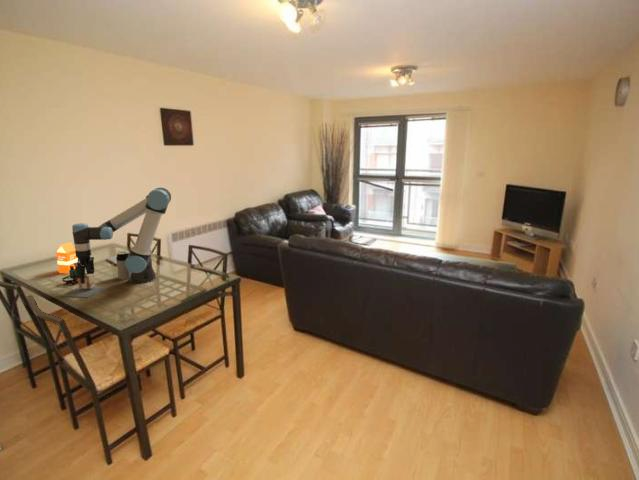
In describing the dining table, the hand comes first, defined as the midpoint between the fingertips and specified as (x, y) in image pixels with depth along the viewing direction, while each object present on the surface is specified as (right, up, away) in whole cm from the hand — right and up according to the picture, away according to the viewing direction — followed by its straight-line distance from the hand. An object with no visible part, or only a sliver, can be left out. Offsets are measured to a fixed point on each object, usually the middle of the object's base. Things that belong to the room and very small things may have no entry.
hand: (87, 286), depth 201 cm
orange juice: (-34, +6, +30) cm, 46 cm away
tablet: (-11, +11, +56) cm, 59 cm away
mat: (0, -3, -3) cm, 5 cm away
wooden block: (0, 0, 0) cm, 1 cm away
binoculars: (-16, 0, +10) cm, 18 cm away
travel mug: (+10, +3, +23) cm, 25 cm away
